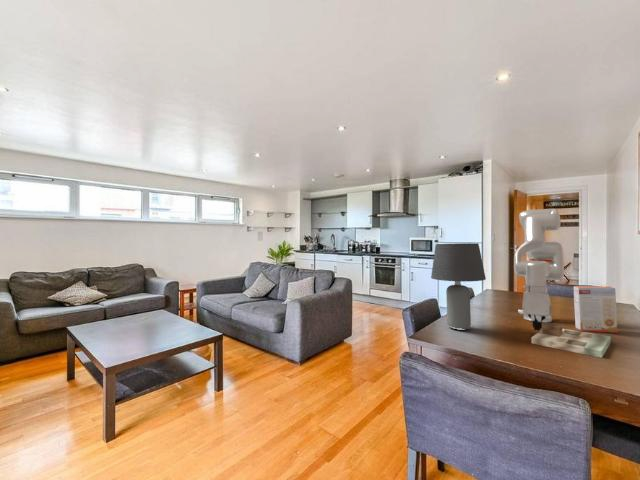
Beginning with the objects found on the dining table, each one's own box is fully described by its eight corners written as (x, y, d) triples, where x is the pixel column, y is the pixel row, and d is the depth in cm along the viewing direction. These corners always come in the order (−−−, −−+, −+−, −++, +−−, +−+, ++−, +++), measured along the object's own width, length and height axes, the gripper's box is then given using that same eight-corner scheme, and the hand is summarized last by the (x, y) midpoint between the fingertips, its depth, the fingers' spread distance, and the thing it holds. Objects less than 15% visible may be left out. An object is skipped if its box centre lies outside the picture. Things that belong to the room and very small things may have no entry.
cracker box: (610, 329, 143) (608, 286, 143) (618, 333, 137) (616, 288, 137) (574, 327, 147) (573, 285, 147) (580, 331, 142) (579, 287, 142)
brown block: (542, 333, 132) (542, 324, 132) (545, 330, 135) (545, 322, 135) (559, 336, 127) (559, 327, 127) (562, 333, 131) (562, 324, 131)
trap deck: (531, 343, 127) (531, 337, 127) (547, 331, 143) (546, 326, 143) (601, 357, 110) (601, 351, 110) (610, 342, 126) (610, 336, 126)
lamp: (486, 324, 156) (484, 242, 156) (488, 339, 134) (485, 243, 134) (435, 319, 168) (433, 243, 168) (429, 332, 146) (426, 244, 146)
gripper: (514, 288, 139) (515, 328, 139) (554, 292, 128) (555, 335, 127) (520, 286, 144) (521, 324, 144) (558, 290, 132) (560, 331, 132)
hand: (537, 329), depth 136 cm, fingers closed
